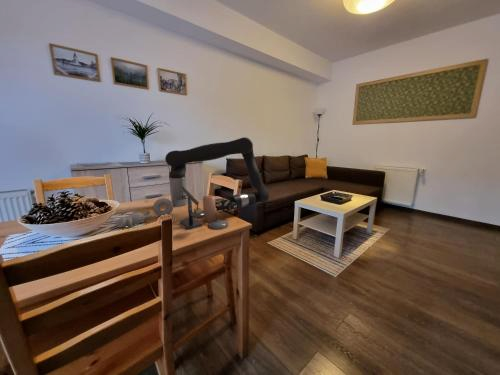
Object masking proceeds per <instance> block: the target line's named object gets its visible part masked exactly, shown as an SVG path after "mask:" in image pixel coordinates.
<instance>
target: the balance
mask: <svg viewBox="0 0 500 375" xmlns="http://www.w3.org/2000/svg"><path fill="white" fill-rule="evenodd" d="M181 190H182V195H180V196H177V197H176V198H177V199H179V200H183V199H187V211H188V212H187V213H188V218H185V219H181V220H180V221H179V224H180V225H182V226H183V227H184V228H186V230H188V231H189V230H192V229H193V230H194V229H196V228H200V227H203V223H202V222H201V221H199V219H196V218H197V217H201V216H204V215H205V212H203V211H201V210H202V208H200V207H199V203H200V202H199V201H198V200H197V199H196V198H195V197H194V196H193V195H192V194H191V193H190V192H189V191H188V190H187V188H186V189H185V188H184V187H181ZM183 192H184V193H185V194H186V195H183ZM192 202H193V203H194V205H195V206H196V207H195V208H193V204H192Z"/></svg>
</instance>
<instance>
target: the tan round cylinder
mask: <svg viewBox="0 0 500 375" xmlns="http://www.w3.org/2000/svg"><path fill="white" fill-rule="evenodd" d="M215 199H216V196H215V195H204V196H202V207H203V208H202V210H203V212H205V215H204V218H203V221H204V222H207V223H210V222H211V221H214V220H217V213H216V211H217V210H216V205H215Z"/></svg>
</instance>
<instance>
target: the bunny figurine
mask: <svg viewBox="0 0 500 375" xmlns="http://www.w3.org/2000/svg"><path fill="white" fill-rule="evenodd" d="M150 218H151V219H152V218H154V214H153V213H151V214H150V211H148V210H147V211H145V212H142V213H141V212H138V211H135V212H132V213H130V214H128V215H126V216H123V217H120V218H119V219H118V220H117V221H116V222H115V223H116V225H117V227H118V228H122V227H126V226H128V225H129V226H128V227H132V226H133V227H134V226H136V225H135V224H138V225H140V224H139V223H141V224H143V222H144V220H145V219H150ZM126 228H127V227H126Z"/></svg>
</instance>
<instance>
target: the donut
mask: <svg viewBox="0 0 500 375" xmlns="http://www.w3.org/2000/svg"><path fill="white" fill-rule="evenodd" d="M163 205H165V207H166V208H165V209H163V210H162V209H161V208H160V207H161V206H163ZM173 210H174V206H173V203H172V202H171V199H169V198H166V197H161V198H159V199H157V200H155V202H154V203H153V205H152V211H153V212H154V214H155V215H156V216H158V217H160V216H161V215H165V214H168V216H169V215H171V214H172V212H173Z"/></svg>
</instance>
